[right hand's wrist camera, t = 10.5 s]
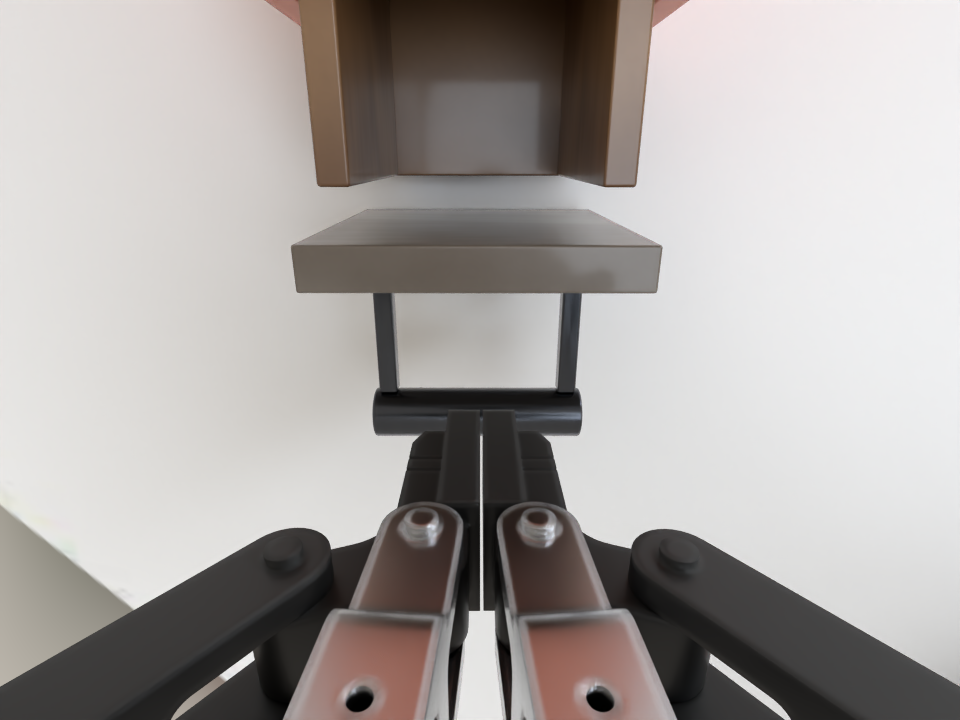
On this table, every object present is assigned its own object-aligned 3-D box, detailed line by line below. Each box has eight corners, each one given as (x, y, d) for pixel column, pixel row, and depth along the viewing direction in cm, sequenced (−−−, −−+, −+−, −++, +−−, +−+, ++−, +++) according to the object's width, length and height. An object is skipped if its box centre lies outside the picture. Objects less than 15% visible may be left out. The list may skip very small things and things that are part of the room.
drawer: (578, 372, 24) (633, 494, 15) (378, 372, 24) (320, 493, 15) (627, -324, 16) (801, -888, 7) (327, -324, 16) (147, -889, 7)
